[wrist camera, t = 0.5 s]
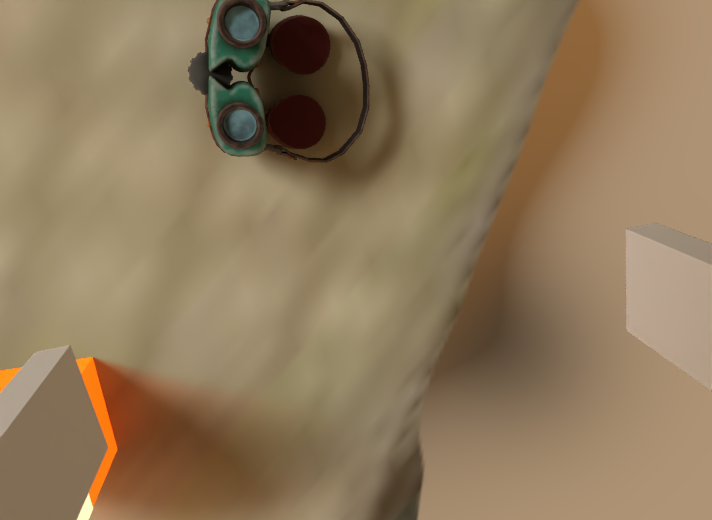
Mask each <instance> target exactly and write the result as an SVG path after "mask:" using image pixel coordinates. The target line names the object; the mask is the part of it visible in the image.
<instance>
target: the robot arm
mask: <svg viewBox="0 0 712 520" xmlns="http://www.w3.org/2000/svg"><path fill="white" fill-rule="evenodd" d="M626 331H628V332H629V333H631V334H632V335H633V336H635V337H636V338H637V339H639V340H640V341H642V342H643V343H645V344H646V345H647V346H649V347H650V348H652V349H653V350H654V351H656V352H657V353H659V354H660V355H661V356H663V357H664V358H666V359H667V360H669V361H670V362H671V363H673V364H674V365H676V366H677V367H679V368H680V369H681V370H683V371H684V372H686V373H687V374H688V375H690V376H691V377H693V378H694V379H695V380H697V381H698V382H700V383H701V384H703V385H704V386H705V387H707V388H708V389H710V390H711V391H712V244H711V243H709V242H706V241H703V240H700V239H698V238H695V237H692V236H690V235H687V234H684V233H682V232H679V231H676V230H674V229H671V228H668V227H666V226H663V225H660V224H658V223H651V224H646V225H641V226H637V227H632V228H628V229H626ZM108 448H109V447H108V445H107V442H106V439H105V437H104V434H103V431H102V428H101V426H100V423H99V420H98V418H97V415H96V412H95V410H94V407H93V404H92V402H91V399H90V396H89V394H88V391H87V388H86V386H85V383H84V380H83V377H82V375H81V372H80V369H79V367H78V364H77V361H76V359H75V356H74V353H73V351H72V348H71V345H67V346H62V347H57V348H53V349H48V350H43V351H38V352H35V353H34V354H33V355H32V356H31V357H30V358H29V360H28V361H27V362H26V363H25V364H24V365H23V367H22V368H21V369H20V370H19V371H18V372H17V374H16V375H15V376H14V377H13V378H12V379H11V380H10V382H9V383H8V384H7V385H6V386H5V387H4V389H3V390H2V391H1V392H0V520H77V518H78V516H79V514H80V511H81V509H82V507H83V505H84V502H85V500H86V498H87V495H88V493H89V491H90V489H91V486H92V484H93V482H94V479H95V477H96V475H97V473H98V470H99V468H100V466H101V463H102V461H103V459H104V457H105V454H106V452H107V450H108Z"/></svg>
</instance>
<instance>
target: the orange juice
mask: <svg viewBox="0 0 712 520" xmlns="http://www.w3.org/2000/svg"><path fill="white" fill-rule="evenodd" d="M76 361H77V364H78V367H79V369H80V372H81V375H82V377H83V380H84V383H85V386H86V388H87V391H88V394H89V396H90V399H91V402H92V404H93V407H94V410H95V412H96V415H97V418H98V420H99V423H100V426H101V428H102V431H103V434H104V437H105V439H106V442H107V445H108V447H109V448H108V450H107V452H106V454H105V457H104V459H103V461H102V463H101V466H100V468H99V470H98V473H97V475H96V477H95V479H94V482H93V484H92V486H91V489H90V491H89V493H88V495H87V498H86V500H85V502H84V505H83V507H82V509H81V511H80V514H79V516H78V518H77V520H89V517H90V515H91V513H92V510H93V506H94V503H95V501H96V499H97V496H98V494H99V491H100V489H101V487H102V484H103V482H104V480H105V477H106V475H107V473H108V470H109V468H110V466H111V463H112V461H113V459H114V456H115V454H116V451H117V446H116V442H115V438H114V435H113V431H112V427H111V424H110V420H109V416H108V412H107V409H106V405H105V401H104V398H103V394H102V390H101V386H100V383H99V379H98V375H97V372H96V368H95V364H94V360H93V357H90V358H83V359H76ZM20 369H21V368H15V369H8V370H2V371H0V392H1V391H2V390H3V389H4V387H5V386H6V385H7V384H8V383H9V382H10V380H11V379H12V378H13V377H14V376H15V375H16V374H17V372H18V371H19V370H20Z"/></svg>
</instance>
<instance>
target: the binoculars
mask: <svg viewBox="0 0 712 520" xmlns="http://www.w3.org/2000/svg"><path fill="white" fill-rule="evenodd" d="M301 4H308V5H314V6H319V7H321V8H322V9H323V10H325V11H326V12H328V13H329V14H330V15H332V16H333V17H335V18H336V19H337V20H339V22H340V23H341V25H342V26H343V28H344V29H345V31H346V32H347V34H348V35H349V37H350V38H351V40H352V41H353V43H354V45H355V48H356V52H357V55H358V58H359V61H360V65H361V72H362V79H363V108H362V112H361V115H360V119H359V122H358V126H357V129H356V131H355V132H354V133H353V135H352V136H351V137H350V138H349V139H348V140H347V142H346V143H345V144H344V145H343V146H342V148H341V149H340V150H339V151H337V152H335V153H333V154H331V155H329V156H327V157H326V158H307V157H304V156H301V155H298V154H295V153H292V152H289V151H288V150H286V149H285V148H284V147H282V146H281V145H271V144H267V133H266V127H267V129H268V131H269V133H270V134H271V136H272V137H273V138H274V139H275V140H276V141H278V142H279V143H280V144H282V145H284V146H286V147H288V148H292V149H306V148H309V147H311V146H313V145H315V144H316V143H317V142H318V141H319V140H320V139H321V137H322V136H323V134H324V131H325V126H326V120H325V115H324V112H323V110H322V108H321V106H320V105H319V104H318V103H317V102H316V101H315V100H314V99H312V98H310V97H308V96H304V95H294V96H290V97H287V98H285V99H283V100H281V101H279V102H277V103H276V104H274V105H273V106H272V108H271V109H270V110H269V111H268V113H267V115H265V113H264V107H263V102H262V99H261V97H260V95H259V90H258V89H257V88H254V86H253V84H252V82H251V78H250V76H251V73H252V71H253V70H254V68H255V67H257V66H259V65H260V62H259V61H260V60H261V58H262V56H263V54H264V51H265V47H269V50H270V52H271V54H272V55H273V57H274V58H275V59H276V60H277V61H278V62H279V63H280V64H281V65H283V66H284V67H285V68H287V69H288V70H290V71H292V72H294V73H297V74H310V73H314V72H315V71H317V70H319V69H320V68H321V67H322V66H323V65H324V64H325V62H326V61H327V58H328V56H329V52H330V39H329V35H328V33H327V31H326V29H325V28H324V26H323V25H322V24H321V23H320V22H318V21H317V20H315V19H313V18H310V17H306V16H303V15H296V16H291V17H288V18H286V19H284V20H282V21H281V22H279V23H278V24H277V25H276V26H275V27H274V28H273V29H272V30H271V32H270V34H268V30H269V24H270V15H271V10H281V11H287V10H290V9H292V8H295V7H297V6H299V5H301ZM288 5H290V6H288ZM287 6H288V7H287ZM207 23H208V24H209V25H208V29H207V33H206V37H205V53H201V52H200V53H198V54H197V56H196V57H195V58H192V60H191V61H190V62H191V65H190V67H188V72H189V73H190V77H189V80H190V82H192V83H193V85H194V86H193V87H194V88H195V89H196V90H199V91H201V94H203V95H205V108H206V113H207V117H208V122H207V126H208V127H209V128H210V129H211V134H212V137H213V139H214V141H215V143H216V145H217V146H218V147H219V148H220V149H221V150H222V151H223V152H224V153H227V154H229V155H231V156H238V157H241V156H255V155H258V154H260V153H261V152H263V150H269V151H273V152H276V153H277V154H280V155H286V156H288V158H293V159H295V160H297V158H300V159H303V160H306V161H309V162H329V161H331V160H333V159H335V158H337V157H339V156H341V155H343V154H344V153H345V152H346V151H347V149H348V148H349V147H350V146H351V145H352V144H353V142H354V141H355V140H356V139H357V138H358V136H359V135H360V134H361V133H362V131H363V127H364V124H365V120H366V117H367V113H368V110H369V78H368V70H367V64H366V60H365V57H364V54H363V50H362V47H361V44H360V41H359V39H358V38H357V36H356V35H355V33H354V32H353V30H352V29H351V27H350V26H349V25H348V23H347V22H346V20H345V19H344V17H343V16H341V15H340V14H339V13H337V12H336V11H334V10H333V9H332V8H330V7H329V6H327V5H326V4H325V3H323V2H319V1H313V0H295V1H289V0H283V1H280V2H269V1H268V0H216V2H215V4H214V6H213V8H212V12H211V16H210V18H208V19H207ZM208 36H209V39H208ZM207 40H208V42H207ZM229 65H230V66H229ZM232 68H233V69H235V70H236V71H238V72H248V71H249V73H248V76H247V78H248V82H249V83H248V82H245V81H238V82H235V83H233V84H232V85H230V81H231V80H232V79H233V76H232V75H231V71H232ZM207 104H208V107H207ZM208 109H209V111H208ZM283 150H284V151H285V152H284V151H283ZM295 157H296V158H295Z"/></svg>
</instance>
